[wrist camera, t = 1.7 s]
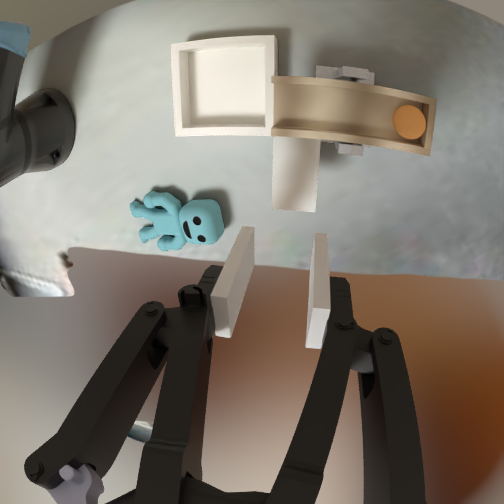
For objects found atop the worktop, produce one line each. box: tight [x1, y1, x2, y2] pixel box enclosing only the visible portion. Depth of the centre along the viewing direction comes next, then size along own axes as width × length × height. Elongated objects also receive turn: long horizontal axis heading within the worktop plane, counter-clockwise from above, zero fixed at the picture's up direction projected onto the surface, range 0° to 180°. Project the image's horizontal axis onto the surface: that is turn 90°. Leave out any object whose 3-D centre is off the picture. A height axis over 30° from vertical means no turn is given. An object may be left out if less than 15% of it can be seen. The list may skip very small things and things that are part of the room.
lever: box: [271, 76, 437, 212], centre depth 25 cm, size 15×14×3 cm
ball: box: [393, 105, 426, 139], centre depth 21 cm, size 3×3×3 cm
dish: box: [171, 35, 278, 137], centre depth 30 cm, size 12×12×4 cm
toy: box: [130, 191, 224, 251], centre depth 41 cm, size 10×5×15 cm
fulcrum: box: [316, 65, 375, 156], centre depth 26 cm, size 11×10×8 cm
